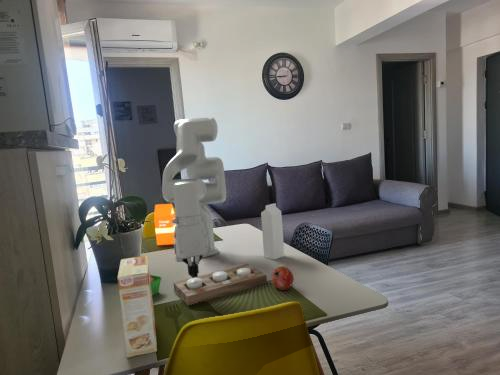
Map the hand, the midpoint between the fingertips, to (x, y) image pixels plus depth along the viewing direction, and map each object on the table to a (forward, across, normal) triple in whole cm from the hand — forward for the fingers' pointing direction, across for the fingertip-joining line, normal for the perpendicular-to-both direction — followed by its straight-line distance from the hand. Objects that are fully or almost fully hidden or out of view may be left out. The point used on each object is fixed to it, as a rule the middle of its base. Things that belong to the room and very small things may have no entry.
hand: (193, 276), depth 116 cm
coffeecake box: (+6, -21, -18) cm, 28 cm away
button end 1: (+4, 0, 0) cm, 4 cm away
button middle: (+4, +9, 0) cm, 10 cm away
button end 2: (+5, +18, 0) cm, 19 cm away
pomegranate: (+6, +25, -14) cm, 29 cm away
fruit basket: (+6, -15, +10) cm, 19 cm away
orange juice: (+6, +11, +71) cm, 72 cm away
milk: (+6, +40, +15) cm, 43 cm away
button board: (+6, +9, 0) cm, 11 cm away
